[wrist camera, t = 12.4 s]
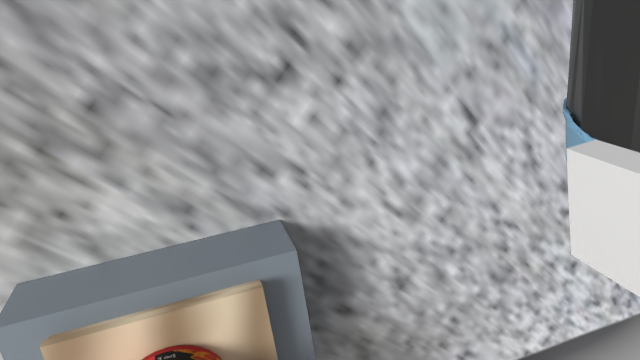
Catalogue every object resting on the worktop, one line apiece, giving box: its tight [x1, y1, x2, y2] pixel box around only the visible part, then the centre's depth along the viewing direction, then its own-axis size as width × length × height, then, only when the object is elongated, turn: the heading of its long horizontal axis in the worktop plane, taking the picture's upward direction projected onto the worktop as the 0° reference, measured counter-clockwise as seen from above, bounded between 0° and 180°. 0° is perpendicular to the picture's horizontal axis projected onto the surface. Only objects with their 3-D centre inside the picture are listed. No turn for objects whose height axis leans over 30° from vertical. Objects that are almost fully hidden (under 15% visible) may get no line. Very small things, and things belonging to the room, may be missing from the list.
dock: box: [0, 220, 316, 360], centre depth 39 cm, size 20×15×6 cm
